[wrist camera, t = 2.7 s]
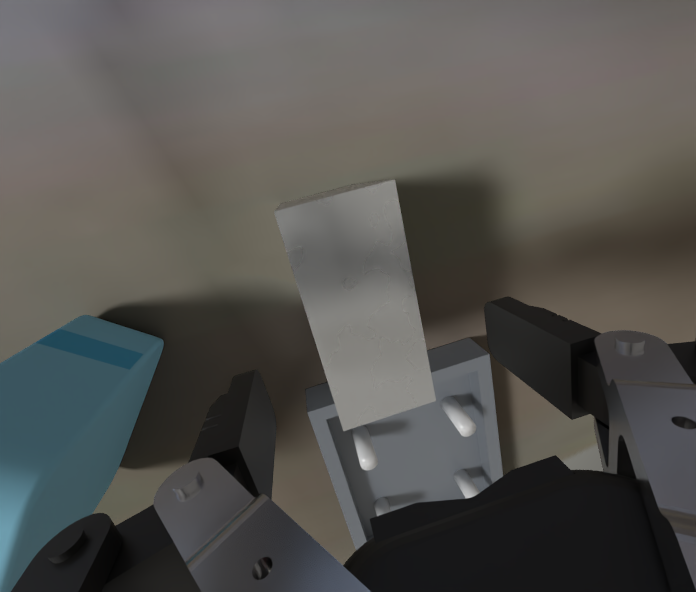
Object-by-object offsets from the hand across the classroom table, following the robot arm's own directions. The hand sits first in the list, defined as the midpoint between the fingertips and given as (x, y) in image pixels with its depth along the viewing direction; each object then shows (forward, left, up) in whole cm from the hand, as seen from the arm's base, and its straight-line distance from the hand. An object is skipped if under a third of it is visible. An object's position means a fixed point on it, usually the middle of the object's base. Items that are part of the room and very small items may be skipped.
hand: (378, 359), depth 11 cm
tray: (+16, +2, -11) cm, 19 cm away
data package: (+4, -17, -12) cm, 21 cm away
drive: (0, 0, -12) cm, 11 cm away
